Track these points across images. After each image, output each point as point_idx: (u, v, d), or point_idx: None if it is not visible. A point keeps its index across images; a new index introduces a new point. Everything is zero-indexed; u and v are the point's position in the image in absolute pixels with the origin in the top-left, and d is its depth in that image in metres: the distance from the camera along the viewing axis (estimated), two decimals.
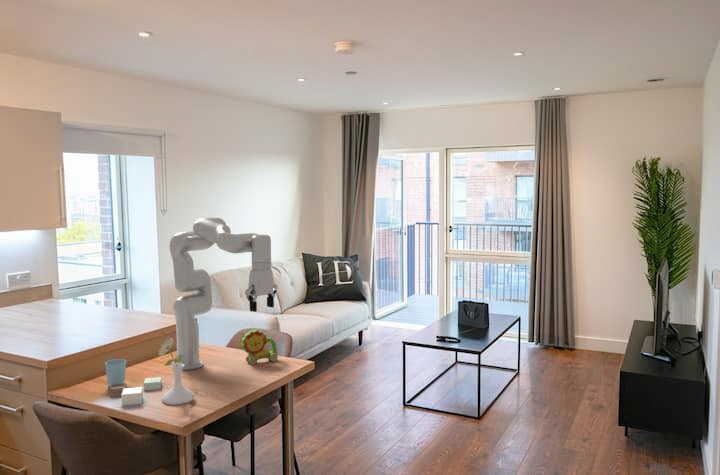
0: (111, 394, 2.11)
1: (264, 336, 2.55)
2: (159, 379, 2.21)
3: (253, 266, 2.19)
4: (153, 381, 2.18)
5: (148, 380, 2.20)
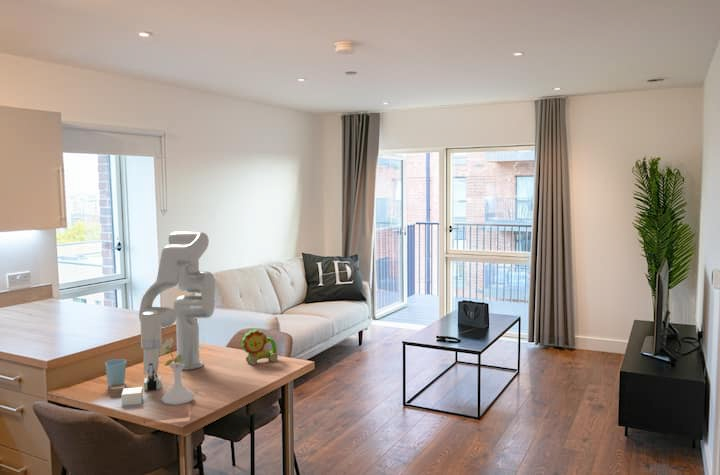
0: (111, 394, 2.11)
1: (264, 336, 2.55)
2: (159, 378, 2.21)
3: (148, 345, 2.15)
4: None
5: None
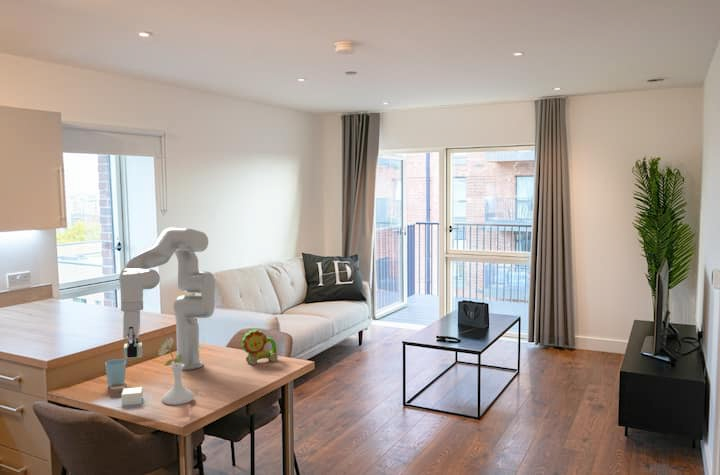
0: (111, 394, 2.11)
1: (264, 336, 2.55)
2: (140, 344, 2.06)
3: (128, 307, 2.01)
4: None
5: None
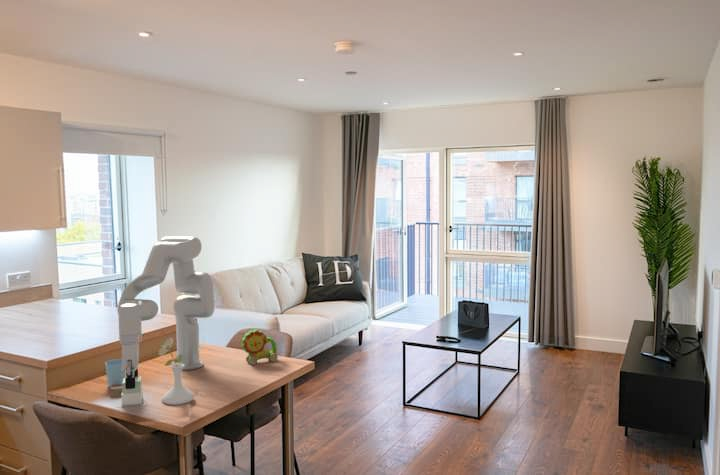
0: (111, 394, 2.11)
1: (264, 336, 2.55)
2: (139, 379, 2.06)
3: (126, 339, 2.00)
4: None
5: None
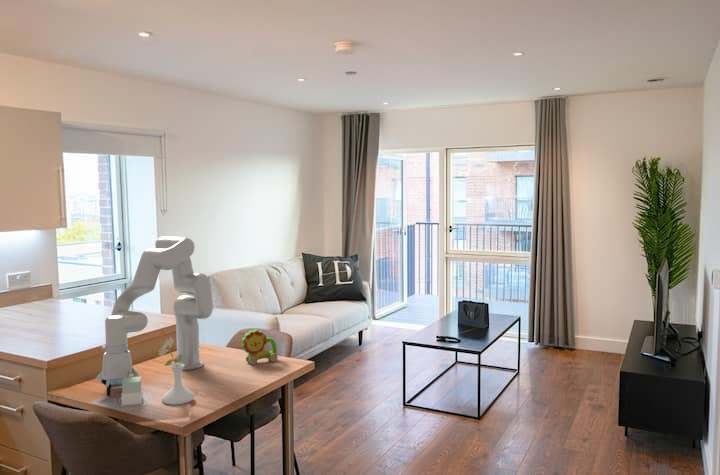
0: (111, 394, 2.11)
1: (264, 336, 2.55)
2: (139, 379, 2.06)
3: (126, 347, 2.12)
4: (133, 381, 2.03)
5: (128, 380, 2.05)
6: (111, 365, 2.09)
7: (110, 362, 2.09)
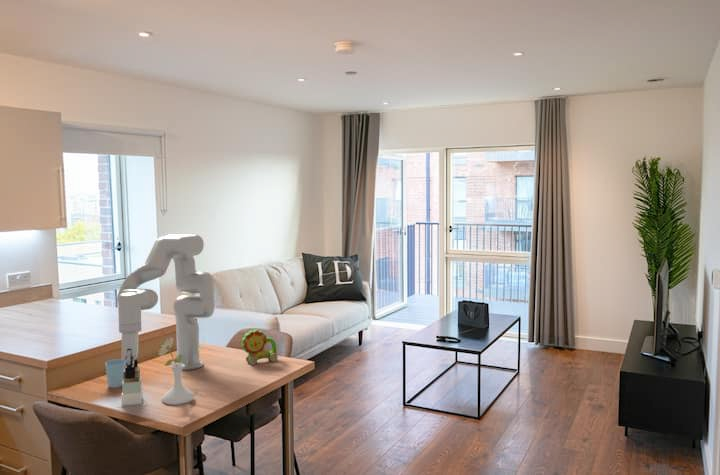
0: None
1: (264, 336, 2.55)
2: (139, 379, 2.06)
3: (126, 328, 2.00)
4: None
5: None
6: None
7: None
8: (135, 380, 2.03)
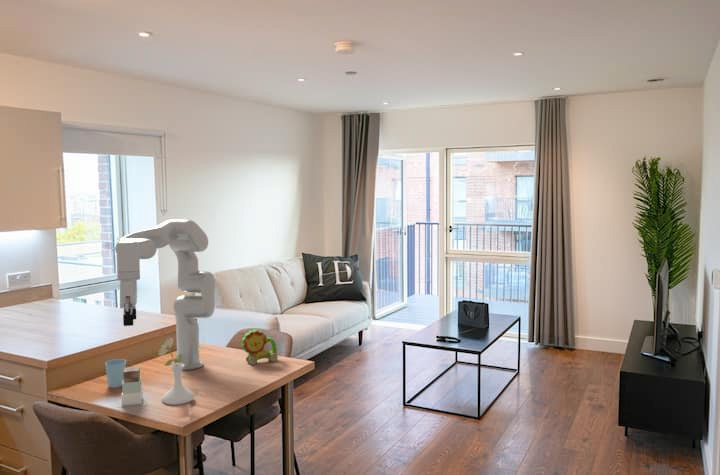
0: None
1: (264, 336, 2.55)
2: (139, 379, 2.06)
3: (125, 276, 1.98)
4: None
5: None
6: None
7: None
8: (135, 380, 2.03)
